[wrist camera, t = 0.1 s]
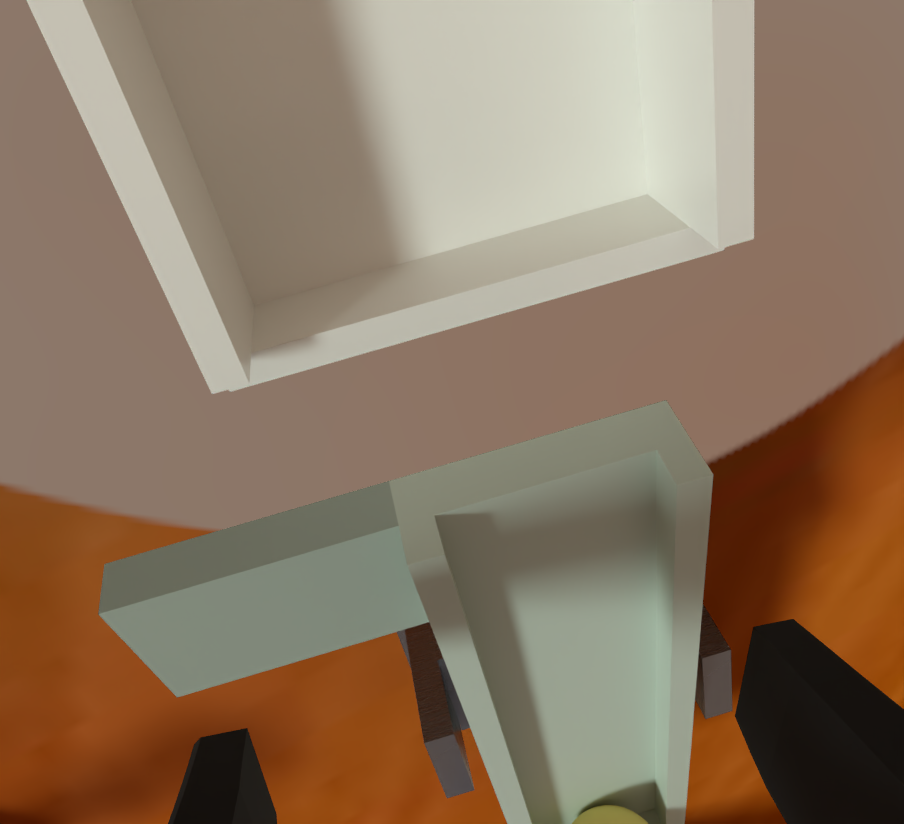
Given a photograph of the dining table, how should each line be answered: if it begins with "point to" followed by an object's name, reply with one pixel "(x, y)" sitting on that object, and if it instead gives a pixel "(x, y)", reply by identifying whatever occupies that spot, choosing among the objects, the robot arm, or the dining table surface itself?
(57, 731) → the dining table surface
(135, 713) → the dining table surface
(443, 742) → the fulcrum
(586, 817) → the ball
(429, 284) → the tray
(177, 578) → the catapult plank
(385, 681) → the dining table surface
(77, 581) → the dining table surface
